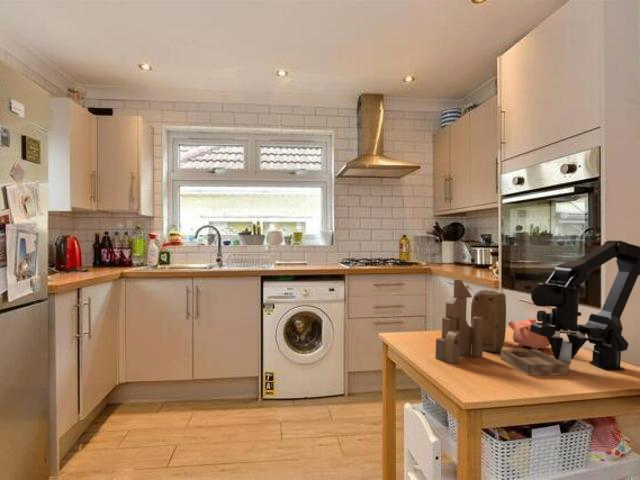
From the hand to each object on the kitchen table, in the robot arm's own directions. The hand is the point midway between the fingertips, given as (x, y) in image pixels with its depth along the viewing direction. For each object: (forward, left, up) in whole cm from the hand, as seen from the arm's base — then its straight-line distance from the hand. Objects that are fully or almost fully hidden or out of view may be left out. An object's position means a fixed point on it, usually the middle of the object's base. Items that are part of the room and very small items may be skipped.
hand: (563, 358), depth 115 cm
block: (+13, -20, -3) cm, 24 cm away
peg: (0, 0, -3) cm, 3 cm away
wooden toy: (+27, -10, -3) cm, 29 cm away
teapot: (-5, -22, -3) cm, 23 cm away
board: (+8, -2, -3) cm, 9 cm away
